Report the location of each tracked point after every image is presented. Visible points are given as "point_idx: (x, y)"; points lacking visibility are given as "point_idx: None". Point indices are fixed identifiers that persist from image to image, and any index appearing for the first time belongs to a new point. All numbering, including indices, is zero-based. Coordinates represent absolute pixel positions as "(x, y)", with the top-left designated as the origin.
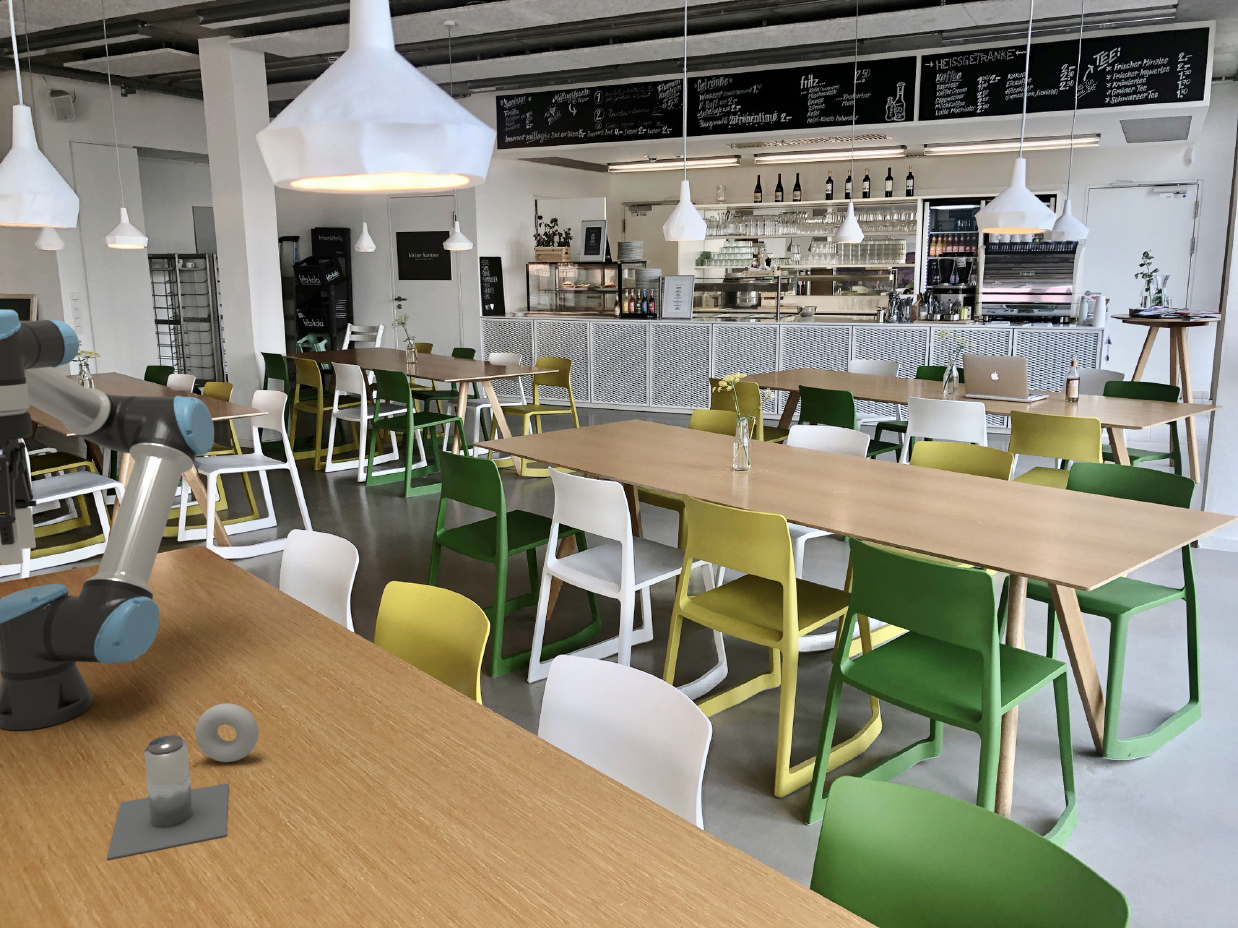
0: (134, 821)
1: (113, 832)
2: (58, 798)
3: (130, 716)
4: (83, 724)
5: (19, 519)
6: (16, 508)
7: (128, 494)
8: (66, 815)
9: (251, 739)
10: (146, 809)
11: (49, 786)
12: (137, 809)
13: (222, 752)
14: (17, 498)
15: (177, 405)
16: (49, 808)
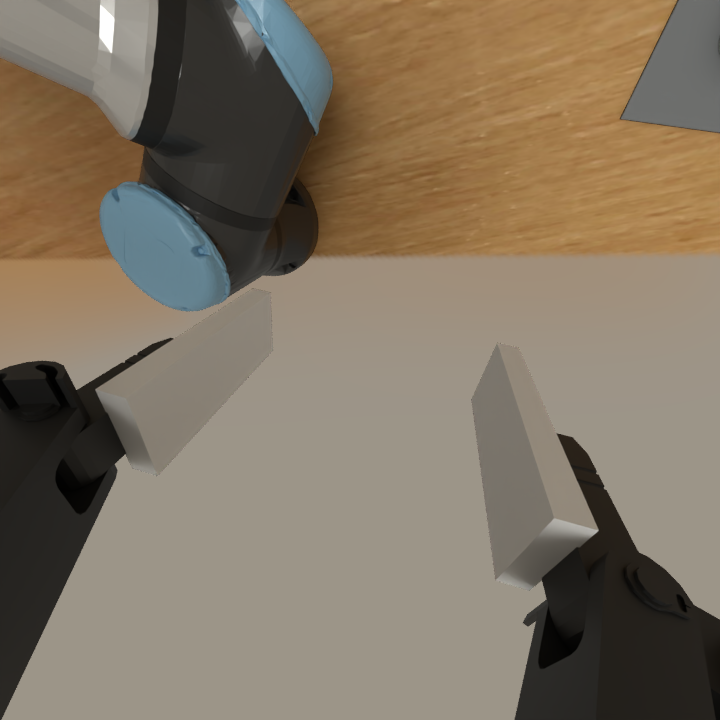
0: (706, 96)
1: (708, 130)
2: (529, 205)
3: (328, 101)
4: (327, 173)
5: (194, 405)
6: (125, 453)
7: None
8: (587, 195)
9: None
10: (684, 74)
11: (487, 215)
12: (669, 90)
13: None
14: (67, 517)
15: None
16: (549, 215)
